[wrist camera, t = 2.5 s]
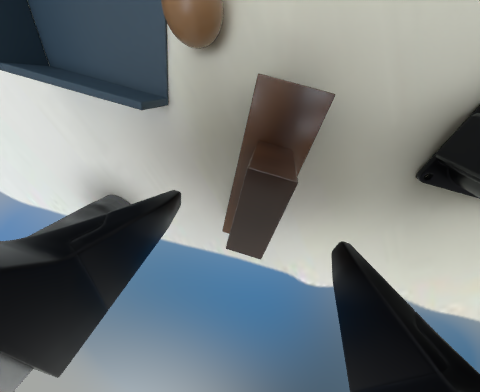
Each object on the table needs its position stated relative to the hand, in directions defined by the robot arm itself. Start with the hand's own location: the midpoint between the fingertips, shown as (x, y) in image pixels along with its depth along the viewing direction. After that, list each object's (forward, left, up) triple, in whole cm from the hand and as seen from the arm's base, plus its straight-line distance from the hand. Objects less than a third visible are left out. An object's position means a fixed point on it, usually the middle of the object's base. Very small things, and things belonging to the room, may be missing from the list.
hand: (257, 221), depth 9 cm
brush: (0, 0, -7) cm, 7 cm away
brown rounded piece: (+7, -8, -5) cm, 12 cm away
